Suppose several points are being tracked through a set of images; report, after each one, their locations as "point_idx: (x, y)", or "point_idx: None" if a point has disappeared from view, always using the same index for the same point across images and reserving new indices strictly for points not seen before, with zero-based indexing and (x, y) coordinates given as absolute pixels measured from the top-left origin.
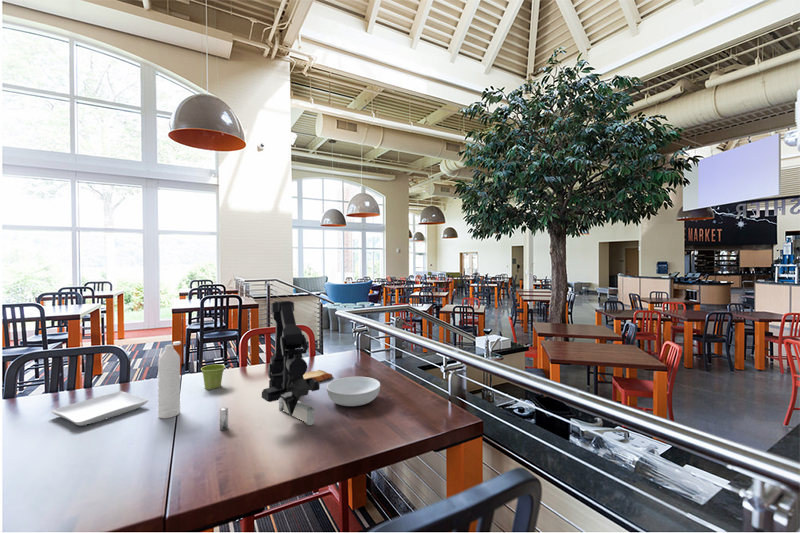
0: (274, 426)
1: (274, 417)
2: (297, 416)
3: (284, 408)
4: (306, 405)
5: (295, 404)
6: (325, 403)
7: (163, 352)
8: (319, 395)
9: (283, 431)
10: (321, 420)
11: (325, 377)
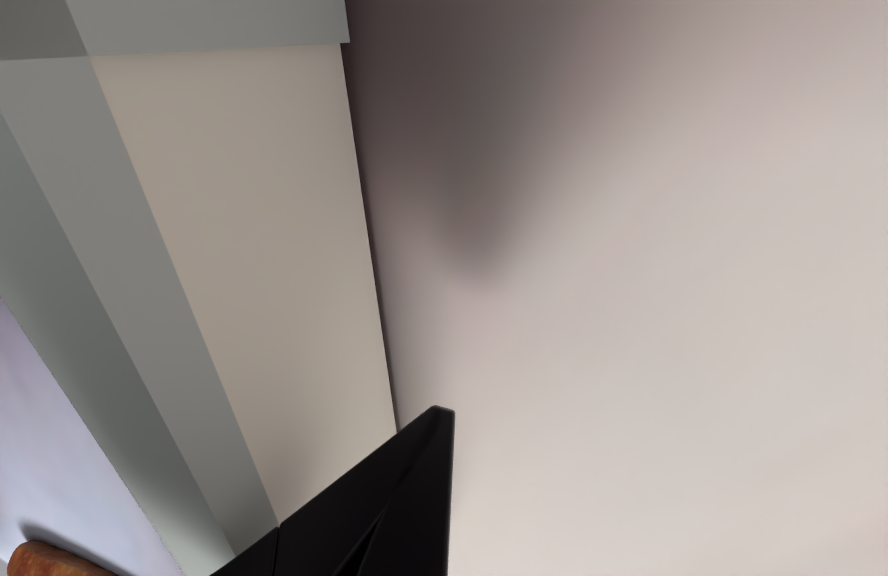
0: (744, 419)
1: (551, 544)
2: (369, 349)
3: None
4: (22, 295)
5: (275, 551)
6: None
7: None
8: (101, 476)
9: (840, 155)
10: None
11: (39, 566)
